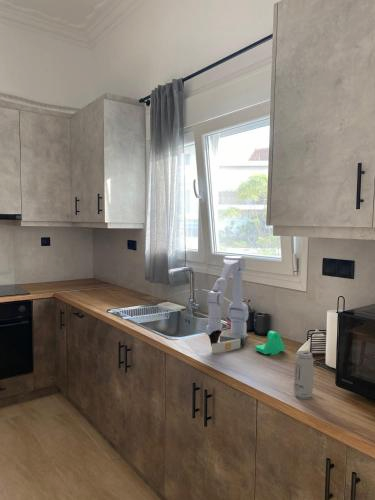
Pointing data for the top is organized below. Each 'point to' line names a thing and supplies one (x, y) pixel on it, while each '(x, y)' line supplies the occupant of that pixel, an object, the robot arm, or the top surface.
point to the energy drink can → (303, 375)
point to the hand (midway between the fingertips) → (213, 346)
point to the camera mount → (271, 344)
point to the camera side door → (226, 346)
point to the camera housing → (232, 338)
